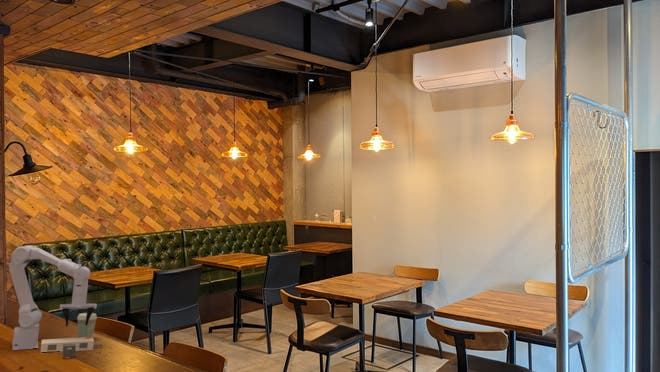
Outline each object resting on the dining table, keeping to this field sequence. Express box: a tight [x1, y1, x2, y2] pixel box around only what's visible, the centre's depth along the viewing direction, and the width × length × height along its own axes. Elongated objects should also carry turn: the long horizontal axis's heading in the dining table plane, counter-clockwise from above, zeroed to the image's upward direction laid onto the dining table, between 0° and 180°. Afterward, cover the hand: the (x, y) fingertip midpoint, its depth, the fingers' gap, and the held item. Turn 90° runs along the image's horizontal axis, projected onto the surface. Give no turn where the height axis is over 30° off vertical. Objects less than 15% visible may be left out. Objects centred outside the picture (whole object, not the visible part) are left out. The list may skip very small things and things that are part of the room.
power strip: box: [40, 337, 103, 353], centre depth 216 cm, size 24×7×4 cm, turn 120°
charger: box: [61, 343, 76, 359], centre depth 205 cm, size 4×6×5 cm
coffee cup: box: [76, 312, 98, 338], centre depth 232 cm, size 8×9×12 cm
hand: (76, 325), depth 218 cm, fingers open, 7 cm apart
